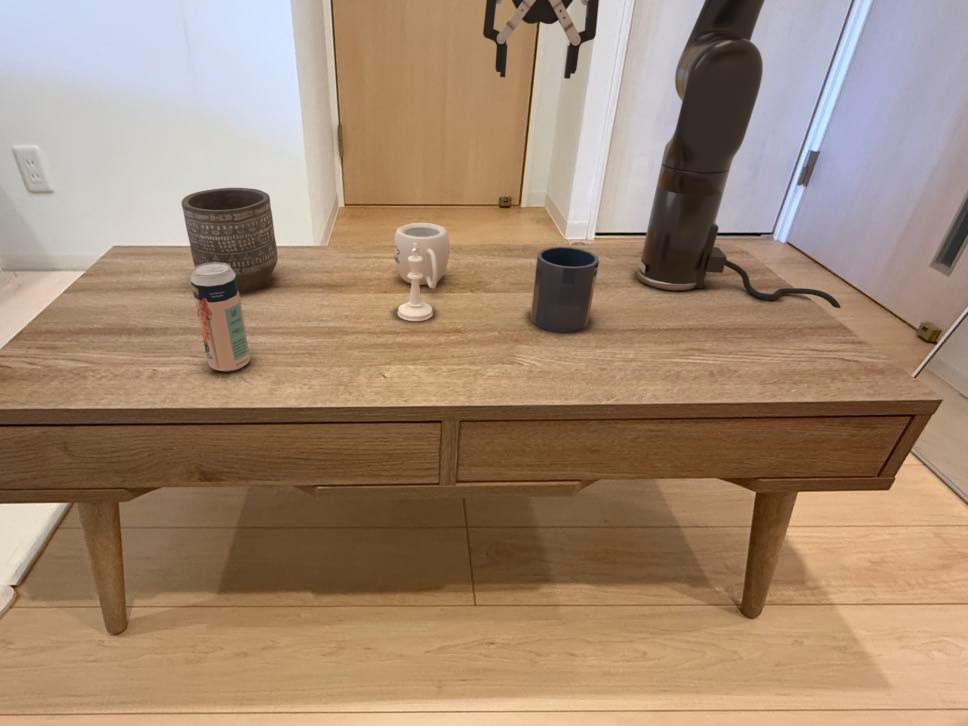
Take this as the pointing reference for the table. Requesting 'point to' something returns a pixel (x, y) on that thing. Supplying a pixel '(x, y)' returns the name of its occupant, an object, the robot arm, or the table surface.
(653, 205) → the robot arm
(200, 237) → the planter
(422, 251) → the mug
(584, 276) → the slate cup
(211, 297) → the beer can
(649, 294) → the table surface
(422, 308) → the chess piece
